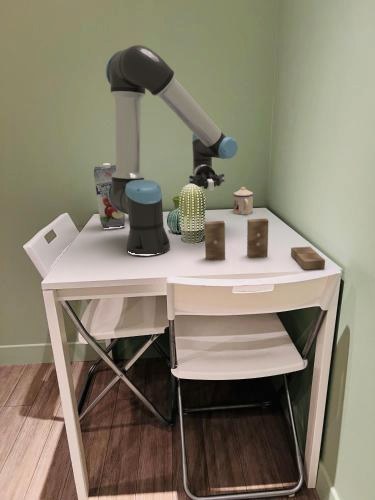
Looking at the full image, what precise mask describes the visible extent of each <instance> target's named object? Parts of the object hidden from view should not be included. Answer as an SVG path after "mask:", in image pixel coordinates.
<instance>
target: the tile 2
mask: <svg viewBox="0 0 375 500" xmlns="http://www.w3.org/2000/svg"><path fill="white" fill-rule="evenodd" d="M246 221H247V223H246V225H247V227H246V228H247V230H246V231H247V235H246V237H247V238H246V239H247V241H246V243H247V244H246V245H247V246H246V247H247V249H246V250H247V251H246V253H247V254H246V256H247V258H248V259H255V258H256V259H257V258H268V253H269V252H268V250H269V249H268V248H269V247H268V246H269V223H270V222H269V221H270V220H269V219H268V218H253V219H249V218H248V219H247V220H246Z"/></svg>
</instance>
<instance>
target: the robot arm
mask: <svg viewBox="0 0 375 500" xmlns="http://www.w3.org/2000/svg"><path fill="white" fill-rule="evenodd" d="M105 76H106V79H107V82H108V83H109V85H110V94H111V96H112V97H113V98H114V100H115V101H114V102H115V104H114V105H115V111H114V112H115V116H114V117H115V165H116V172H115V173H114V174H113V175H112V184H111V185H110V186H109V188H108V200H109V202H110V204H111V205H112V206H113V207H114V208H115V209H116V210H118V211H120V212H123V213H125V215H128V224H129V231H128V237H127V240H126V251H127V250H128V251H129V252H131V253H135V254H157V253H162V252H165V251H167V250H168V249H169V248H170V249H171V241H170V239H169V236H168V234H167V232H166V229H165V225H164V211H163V193H162V188H161V185H160V184H159V183H158V182H156V181H155V180H152V179H151V180H150V179H149V180H148V179H145V176H144V174H142V173H141V116H142V115H141V114H142V111H141V110H142V109H141V108H142V107H141V106H142V105H141V104H142V103H141V102H142V100H143V99H144V98H145V96H146V90H147V91H148V92H149V93H150V94H151V95H152V96H154V97H155V96H156V97H157V96H158V97H159V98H160V100H161V101H162V102H163V103H164V104H165V105H166V106H167V107H168V108H169V109H170V110H171V111H172V112H173V113H174V114H175V115H176V116H177V117H178V118H179V119H180V121H181V122H182V123H183V124H184V125H185V126H186V127H187V128H188V129H189V131H191V132H192V138H191V139H192V142H191V144H192V146H191V147H192V164H193V165H192V166H193V168H192V174H193V175H189V177H188V179H189V181H188V182H189V184H193V185H194V186H196V187H199V188H200V187H203V189H204V190H207V189H208V191H209V192H210V191H211V192H212V191H215V187H220V186H221V184H222V183H224V182H225V174H224V173H221V174H216V172H215V170H214V168H213V161H212V160H213V158H215V159H222V160H224V159H225V160H229V159H232V158H234V157H235V156H236V154H237V152H238V142H237V141H236V139H235V138H233V137H231V136H226V135H225V134H224V133H223V131H222V130H221V129H220V128H219V127H218V126H217V125H216V124H215V123H214V121H213V120H212V119H211V118H210V116H208V114H207V113H206V112H205V111H204V110H203V108H202V107H201V106H200V105H199V104H198V103H197V102H196V100H194V98H193V97H192V96H191V94H189V92H188V91H187V90H186V89H185V88H184V87H183V86H182V84H181V83H180V82H179V81H178V80H177V79H176V74H175V71H174V70H173V69H172V67H171V66H170V65H169V64H167V62H166V61H165V60H164V58H162V57H161V56H160V55H159V54H158V53H157V52H155V51H154V50H152V48H149V47H147V46H145V45H142V44H141V45H140V44H135V45H131V46H129V47H127V48H124V49H121V50H118V51H117V52H115V53H114V54H113V55H112V56H111V57H109V59H108V60H107V62H106V66H105ZM170 249H169V250H170ZM167 252H168V251H167ZM165 253H166V252H165Z"/></svg>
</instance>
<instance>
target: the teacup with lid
mask: <svg viewBox="0 0 375 500" xmlns="http://www.w3.org/2000/svg"><path fill="white" fill-rule="evenodd" d="M246 188H247V187H245V186H241V187H240V189H239V190H237V191H235V192H233V194H232V195H233V213H234V214H236V215H251V214H252V213H253V204H254V202H253V199H254V196H253V195H254V192H253V191H250V190H248V189H246Z"/></svg>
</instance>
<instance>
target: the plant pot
mask: <svg viewBox="0 0 375 500" xmlns="http://www.w3.org/2000/svg"><path fill="white" fill-rule="evenodd" d="M179 196H180V195H173V196H172V197H171V200H172V202H173V205H174V210H175V209H177V208H178V207H179Z"/></svg>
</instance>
